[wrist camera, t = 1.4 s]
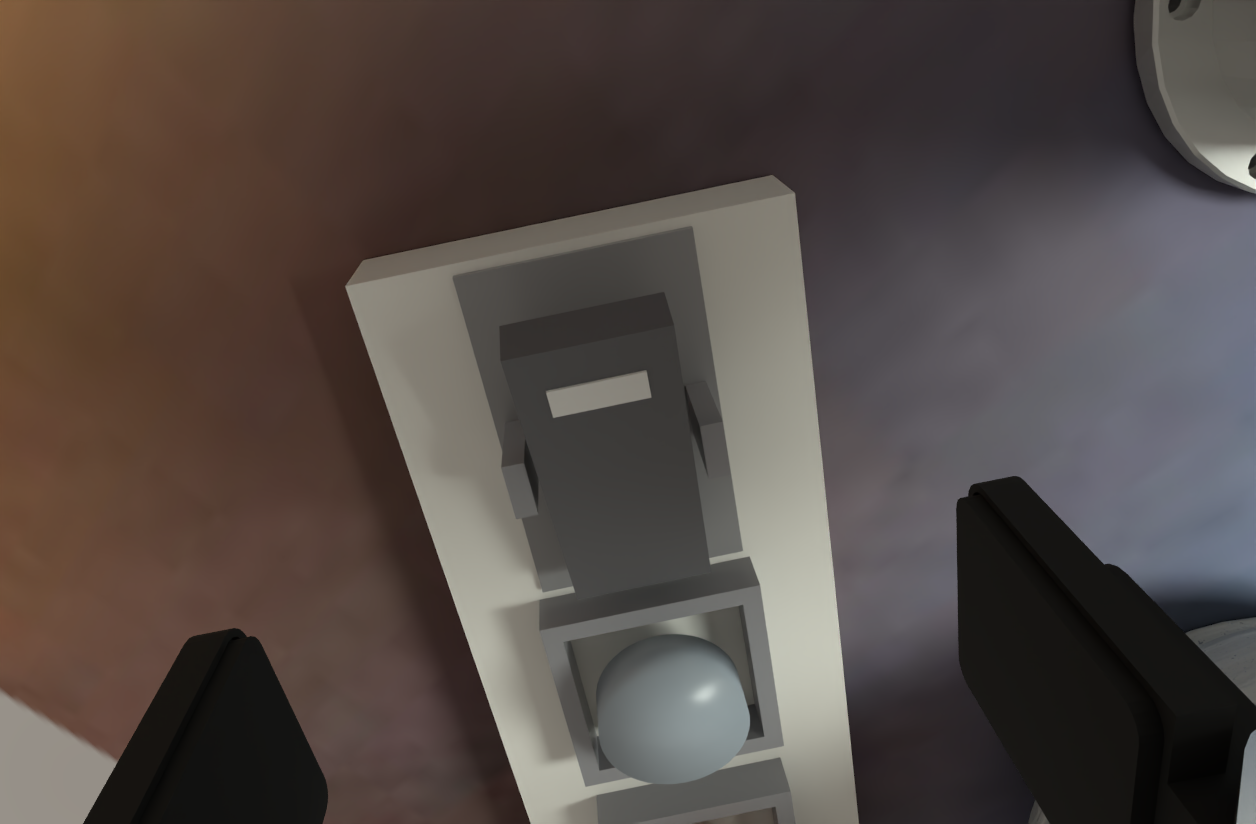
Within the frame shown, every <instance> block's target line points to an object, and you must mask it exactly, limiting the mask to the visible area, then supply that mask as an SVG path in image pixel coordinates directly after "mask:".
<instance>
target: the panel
mask: <svg viewBox="0 0 1256 824" xmlns="http://www.w3.org/2000/svg"><path fill="white" fill-rule="evenodd" d="M345 287H346V290H347V293H348V296H349V299H350V302H351V305H352V308H353V310H354V313H355V316H356V319H357V322H358V325H359V328H360V331H361V334H362V337H363V339H364V342H365V345H366V348H367V351H368V354H369V357H370V360H371V363H372V365H373V368H374V371H375V374H376V377H377V380H378V383H379V386H380V389H381V392H382V394H383V397H384V400H385V403H386V406H387V409H388V412H389V415H390V418H391V420H392V423H393V426H394V429H395V432H396V435H397V438H398V441H399V444H400V447H401V449H402V452H403V455H404V458H405V461H406V464H407V467H408V470H409V473H410V475H411V478H412V481H413V484H414V487H415V490H416V493H417V496H418V499H419V502H420V504H421V507H422V510H423V513H424V516H425V519H426V522H427V525H428V528H429V531H430V533H431V536H432V539H433V542H434V545H435V548H436V551H437V554H438V557H439V559H440V562H441V565H442V568H443V571H444V574H445V577H446V580H447V583H448V586H449V588H450V591H451V594H452V597H453V600H454V603H455V606H456V609H457V612H458V614H459V617H460V620H461V623H462V626H463V629H464V632H465V635H466V638H467V641H468V643H469V646H470V649H471V652H472V655H473V658H474V661H475V664H476V667H477V669H478V672H479V675H480V678H481V681H482V684H483V687H484V690H485V693H486V696H487V698H488V701H489V704H490V707H491V710H492V713H493V716H494V719H495V722H496V724H497V727H498V730H499V733H500V736H501V739H502V742H503V745H504V748H505V751H506V753H507V756H508V759H509V762H510V765H511V768H512V771H513V774H514V777H515V779H516V782H517V785H518V788H519V791H520V794H521V797H522V800H523V803H524V806H525V808H526V811H527V814H528V817H529V820H530V823H531V824H859V820H858V810H857V800H856V790H855V780H854V771H853V761H852V751H851V741H850V731H849V721H848V711H847V702H846V692H845V682H844V672H843V662H842V652H841V642H840V633H839V623H838V613H837V603H836V593H835V583H834V573H833V563H832V554H831V544H830V534H829V524H828V514H827V504H826V494H825V485H824V475H823V465H822V455H821V445H820V435H819V425H818V416H817V406H816V396H815V386H814V376H813V366H812V356H811V346H810V337H809V327H808V317H807V307H806V297H805V287H804V277H803V268H802V258H801V248H800V238H799V228H798V218H797V208H796V199H795V192H793V191H792V190H791V189H790V188H788V187H787V186H786V185H784V184H783V183H782V182H781V181H779V180H778V179H777V178H776V177H774V176H773V175H770V176H765V177H760V178H755V179H751V180H746V181H741V182H736V183H731V184H727V185H722V186H717V187H712V188H707V189H703V190H698V191H693V192H688V193H683V194H679V195H674V196H669V197H664V198H659V199H655V200H650V201H645V202H640V203H635V204H631V205H626V206H621V207H616V208H611V209H606V210H602V211H597V212H592V213H587V214H582V215H578V216H573V217H568V218H563V219H558V220H554V221H549V222H544V223H539V224H534V225H530V226H525V227H520V228H515V229H510V230H506V231H501V232H496V233H491V234H486V235H482V236H477V237H472V238H467V239H462V240H458V241H453V242H448V243H443V244H438V245H434V246H429V247H424V248H419V249H414V250H410V251H405V252H400V253H395V254H390V255H386V256H381V257H376V258H371V259H366V260H363V261H362V262H361V264H360V265H359V267H358V268H357V270H356V271H355V273H354V274H353V276H352V277H351V279H350V280H349V282H348V283H347V284H346V286H345ZM661 292H664V293H665V296H666V299H667V303H668V306H669V309H670V313H671V316H672V319H673V323H674V327H675V334H676V340H677V347H678V354H679V360H680V367H681V374H682V380H683V387H684V393H685V400H686V407H687V413H688V420H689V427H690V433H691V440H692V447H693V453H694V460H695V467H696V473H697V480H698V487H699V493H700V500H701V507H702V513H703V520H704V527H705V533H706V540H707V547H708V553H709V560H710V567H711V572H710V573H705V574H701V575H696V576H691V577H686V578H681V579H676V580H672V581H667V582H662V583H657V584H652V585H647V586H643V587H638V588H633V589H628V590H623V591H618V592H614V593H609V594H604V595H599V596H594V597H589V598H585V599H580V600H577V597H576V593H575V590H574V587H573V584H572V581H571V578H570V575H569V572H568V569H567V566H566V563H565V559H564V556H563V553H562V550H561V547H560V544H559V541H558V538H557V535H556V532H555V528H554V525H553V522H552V519H551V516H550V513H549V510H548V507H547V504H546V501H545V498H544V494H543V491H542V488H541V485H540V482H539V479H538V476H537V473H536V470H535V467H534V463H533V460H532V457H531V454H530V451H529V448H528V445H527V442H526V439H525V436H524V433H523V429H522V426H521V423H520V420H519V417H518V414H517V411H516V408H515V405H514V402H513V398H512V395H511V392H510V389H509V386H508V383H507V380H506V377H505V374H504V371H503V368H502V364H501V361H500V333H499V326H502V325H507V324H511V323H516V322H521V321H526V320H531V319H535V318H540V317H545V316H550V315H555V314H560V313H564V312H569V311H574V310H579V309H584V308H588V307H593V306H598V305H603V304H608V303H612V302H617V301H622V300H627V299H632V298H637V297H641V296H646V295H651V294H656V293H661ZM666 634H683V635H690V636H695V637H699V638H702V639H705V640H707V641H709V642H712V643H713V644H715V645H717V646H718V647H720V648H721V649H722V650H723V651H725V652H726V654H727V655H728V656H729V657H730V658H731V660H732V661H733V662H734V664H735V667H736V669H737V671H738V675H739V678H740V682H741V686H742V689H743V693H744V696H745V700H746V703H747V707H748V710H749V714H750V727H749V732H748V736H747V738H746V741H745V743H744V745H743V746H742V748H741V749H740V751H739V752H738V753H737V754H736V756H735V757H734V758H733V759H732V760H731V761H730V762H729V763H727V764H726V765H725V766H723V767H722V768H720V769H719V770H717V771H715V772H714V773H712V774H710V775H708V776H705V777H703V778H700V779H697V780H694V781H690V782H686V783H679V784H654V783H647V782H643V781H639V780H637V779H634V778H631V777H629V776H627V775H625V774H624V773H622V772H621V771H619V770H618V769H616V768H615V767H614V766H613V765H612V764H611V763H610V762H609V760H608V759H607V758H606V756H605V754H604V753H603V751H602V748H601V745H600V740H599V731H598V718H597V704H596V689H597V684H598V681H599V678H600V676H601V674H602V672H603V670H604V669H605V667H606V666H607V664H608V663H609V662H610V661H611V660H612V659H613V658H614V657H615V656H616V655H617V654H618V653H620V652H621V651H622V650H624V649H625V648H627V647H628V646H630V645H632V644H634V643H636V642H638V641H641V640H644V639H646V638H650V637H654V636H659V635H666Z"/></svg>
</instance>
